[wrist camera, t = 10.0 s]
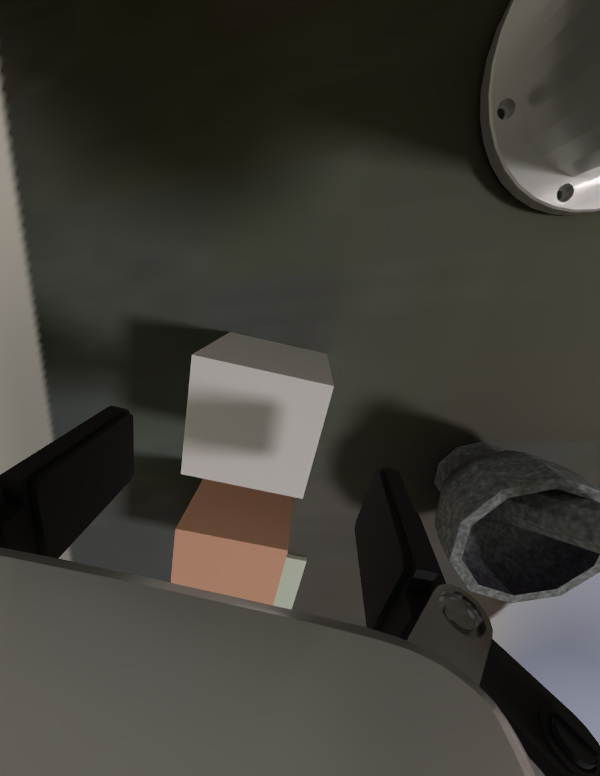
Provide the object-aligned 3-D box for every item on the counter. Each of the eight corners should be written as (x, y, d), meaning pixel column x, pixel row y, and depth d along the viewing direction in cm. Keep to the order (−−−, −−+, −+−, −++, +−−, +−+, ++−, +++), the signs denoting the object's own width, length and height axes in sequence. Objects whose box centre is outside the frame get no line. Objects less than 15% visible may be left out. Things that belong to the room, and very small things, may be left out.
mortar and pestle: (465, 538, 26) (585, 733, 15) (389, 483, 24) (458, 657, 13) (576, 454, 23) (839, 621, 11) (497, 384, 21) (714, 500, 10)
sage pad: (191, 535, 27) (190, 538, 27) (306, 557, 27) (306, 561, 27) (183, 605, 30) (181, 609, 30) (285, 624, 31) (285, 628, 30)
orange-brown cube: (212, 461, 24) (175, 528, 18) (294, 478, 24) (288, 550, 18) (204, 525, 26) (168, 604, 20) (278, 539, 27) (268, 623, 20)
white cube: (230, 331, 20) (191, 354, 14) (326, 353, 21) (333, 386, 14) (218, 419, 23) (180, 474, 16) (304, 437, 23) (302, 499, 16)
